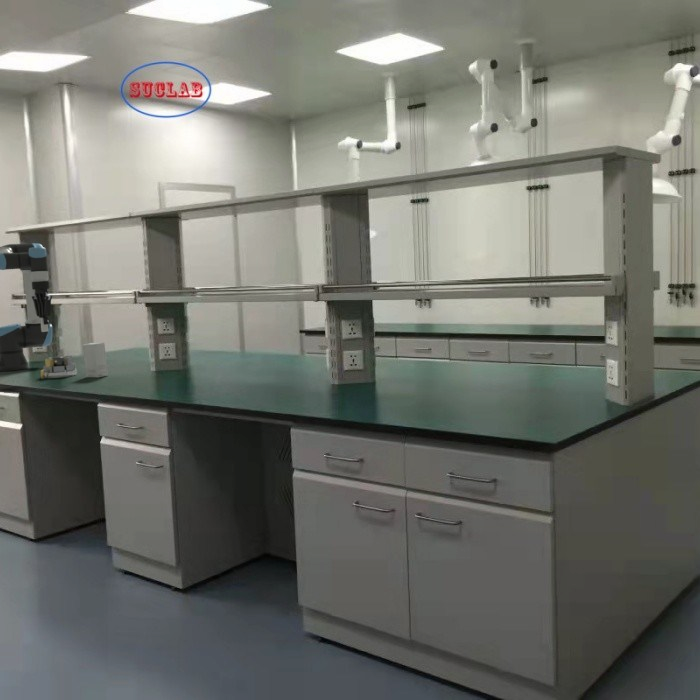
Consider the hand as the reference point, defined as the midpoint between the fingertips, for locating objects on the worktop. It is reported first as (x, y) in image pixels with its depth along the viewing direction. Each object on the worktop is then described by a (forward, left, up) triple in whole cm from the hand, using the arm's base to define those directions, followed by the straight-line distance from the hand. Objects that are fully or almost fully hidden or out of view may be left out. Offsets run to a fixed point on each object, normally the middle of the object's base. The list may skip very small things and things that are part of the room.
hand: (45, 331), depth 355 cm
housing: (-3, +5, -22) cm, 22 cm away
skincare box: (+14, +20, -22) cm, 33 cm away
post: (+2, -3, -22) cm, 22 cm away
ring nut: (-3, +5, -19) cm, 20 cm away
